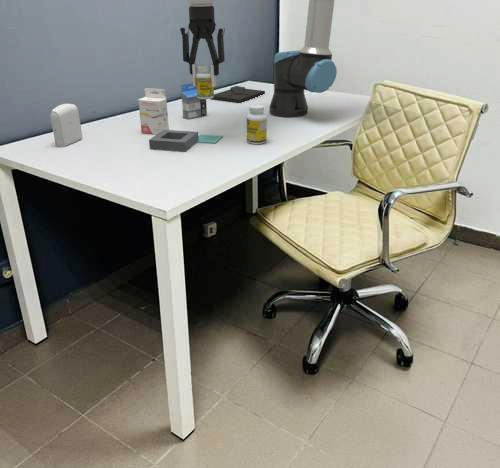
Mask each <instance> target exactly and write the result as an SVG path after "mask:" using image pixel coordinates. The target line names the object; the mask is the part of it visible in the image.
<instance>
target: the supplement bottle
mask: <svg viewBox="0 0 500 468" xmlns="http://www.w3.org/2000/svg"><path fill="white" fill-rule="evenodd" d="M196 85H197V97H198V98H199V99H206V100H210V99H211V98H213V97H214V93H215V90H214V88H215V87H212V83H211V65H199V66H198V74H197V75H196Z"/></svg>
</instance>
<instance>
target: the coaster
mask: <svg viewBox="0 0 500 468" xmlns="http://www.w3.org/2000/svg"><path fill="white" fill-rule="evenodd" d="M198 139H199V140H198V141H197V143H196V144H209V145H210V144H213V145H216V144H217V143H218V142H219V141H220V140H221V139H223V135H215V134H203V133H202V134H201V133H200V134H198Z"/></svg>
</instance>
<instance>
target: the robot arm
mask: <svg viewBox="0 0 500 468" xmlns="http://www.w3.org/2000/svg"><path fill="white" fill-rule="evenodd" d="M214 2H215V0H187V3H188V4H189V6H188V19H189V22H188V25H187V26H184V27H180V29H179V30H180V33H181V39H182V61H183V62H185V63H187V64H188V65H189V74H190V76H191V75H192V83H193V86H192V87H194V86H197V85H196V75H197V74H198V73H199V72H198V63H197V62H196V60H197V59H196V58H197V53H198V47H199V44H200V40H201V39H203V40H205V41H206V43H207V47H208V50H209V55H210V57H211V61H212V64H210V69H211V70H210V73H211V83H212V87H214V88H215V87H216V86H217V77H218V75H219V74H220V64H222V63H224V62H225V43H224V42H225V41H224V35H225V31H226V30H225V27H220V26H218V25H217V24H216V21H215V7H214V6H213V4H214ZM335 2H336V1H335V0H308V9H307V18H306V27H305V28H306V29H305V35H304V38H305V39H304V46H303V47H302V48H301V49H300V50H290V51H279V52H277V53H276V54H275V55H274V60H273V68H274V69H273V72H274V74H273V75H274V78H273V79H274V81H273V96H272V99H271V101H270V104H269V111H268V113H269V114H270V115H272V116H275V117H282V118H296V117H303V116H306V115H307V114H308V113H309V107H308V102H307V100H306V95H305V91H308V92H310V93H317V94H318V93H319V94H321V93H324V92H326V91H328V90H329V89H330V87H332V86H333V85H334V83H335V80H336V78H337V73H338V71H337V69H338V68H337V66H336V64H335V62H334V61H333V60H332V58H333V53H332V51H331V50H330V48H329V47H330V42H331V41H330V39H331V32H332V24H333V23H332V22H333V17H334V16H333V15H334V7H335ZM190 32H191V33H192V35H193V36H192V43H191V48H190V35H189V34H190ZM214 32H215V34H216V36H217V37H216V40H217V43H216V45H217V49H216V46H215V43H214V36H213V34H214Z"/></svg>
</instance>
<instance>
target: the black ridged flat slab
mask: <svg viewBox="0 0 500 468" xmlns="http://www.w3.org/2000/svg"><path fill="white" fill-rule="evenodd" d="M263 94H265V95H266V90H261V89H252V88H246V86H241V85H240V86H239V85H235V86H231V87H230V88H229V89H226V90H224V91H221V92H217V93H215V94H214V97H213V98H211V99H209V100H211V101H219V102H225V103H226V102H227V103H232V104H233V103H234V104H239V103H240V104H243V103H245V101H246V102H248V101H251V100H254V99H256V98H255V97H257V98H259V97H258V96H260V95H263ZM263 96H264V95H263ZM260 97H261V96H260ZM253 98H254V99H253ZM250 99H251V100H250ZM242 102H243V103H242Z"/></svg>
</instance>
